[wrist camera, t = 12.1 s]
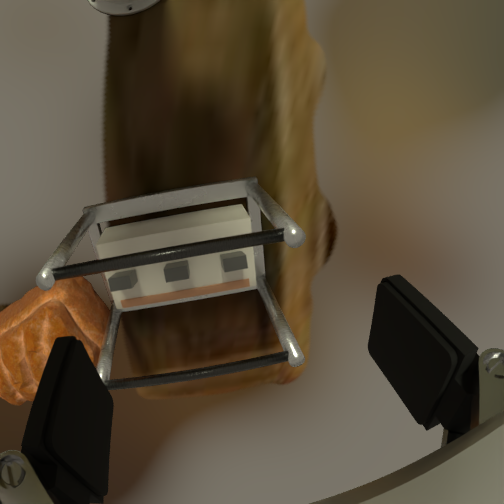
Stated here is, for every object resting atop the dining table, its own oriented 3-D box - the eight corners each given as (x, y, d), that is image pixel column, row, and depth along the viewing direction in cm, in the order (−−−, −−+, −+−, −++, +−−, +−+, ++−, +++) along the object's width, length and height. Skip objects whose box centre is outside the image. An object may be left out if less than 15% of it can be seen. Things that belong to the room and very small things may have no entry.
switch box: (105, 228, 43) (95, 245, 37) (241, 204, 46) (250, 218, 40) (122, 287, 47) (116, 310, 42) (248, 265, 50) (257, 286, 45)
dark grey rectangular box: (166, 263, 40) (163, 269, 36) (187, 260, 41) (186, 265, 37) (168, 275, 41) (166, 282, 37) (189, 272, 41) (189, 278, 37)
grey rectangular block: (115, 272, 39) (107, 278, 35) (135, 269, 40) (129, 275, 36) (118, 284, 40) (110, 291, 36) (137, 281, 40) (132, 288, 36)
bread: (124, 322, 50) (113, 392, 36) (30, 368, 50) (10, 426, 36) (74, 257, 43) (41, 317, 30) (-15, 318, 44) (-48, 373, 30)
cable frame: (84, 207, 41) (31, 272, 24) (256, 176, 44) (305, 223, 27) (115, 308, 48) (96, 400, 31) (264, 283, 52) (304, 366, 35)
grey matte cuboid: (219, 254, 41) (222, 259, 37) (241, 250, 42) (246, 254, 38) (222, 266, 42) (224, 272, 38) (243, 262, 42) (248, 268, 38)
